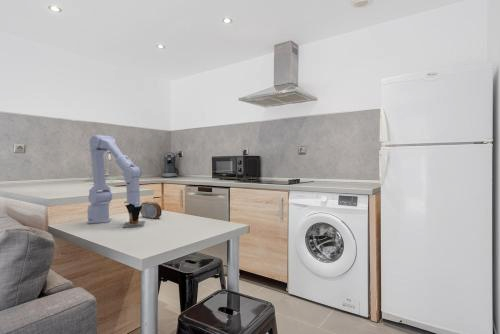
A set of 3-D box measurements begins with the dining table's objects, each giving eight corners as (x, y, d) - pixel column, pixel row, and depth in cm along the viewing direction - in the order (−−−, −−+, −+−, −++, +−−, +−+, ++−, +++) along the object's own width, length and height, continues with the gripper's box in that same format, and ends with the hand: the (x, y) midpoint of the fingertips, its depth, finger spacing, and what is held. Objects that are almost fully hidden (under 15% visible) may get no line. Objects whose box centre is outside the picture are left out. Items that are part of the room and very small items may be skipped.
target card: (122, 228, 128) (122, 226, 128) (125, 223, 138) (125, 221, 138) (143, 226, 131) (143, 224, 131) (144, 221, 141) (144, 220, 140)
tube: (130, 224, 132) (130, 214, 131) (128, 223, 135) (128, 212, 135) (139, 223, 134) (139, 213, 134) (137, 221, 137) (137, 211, 137)
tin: (162, 218, 148) (161, 202, 148) (157, 219, 145) (157, 203, 145) (143, 216, 156) (143, 200, 156) (139, 217, 153) (138, 201, 153)
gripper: (120, 191, 137) (121, 218, 138) (127, 193, 126) (128, 223, 126) (136, 189, 142) (136, 216, 142) (143, 192, 130) (144, 221, 130)
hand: (134, 219), depth 134 cm, fingers open, 5 cm apart
